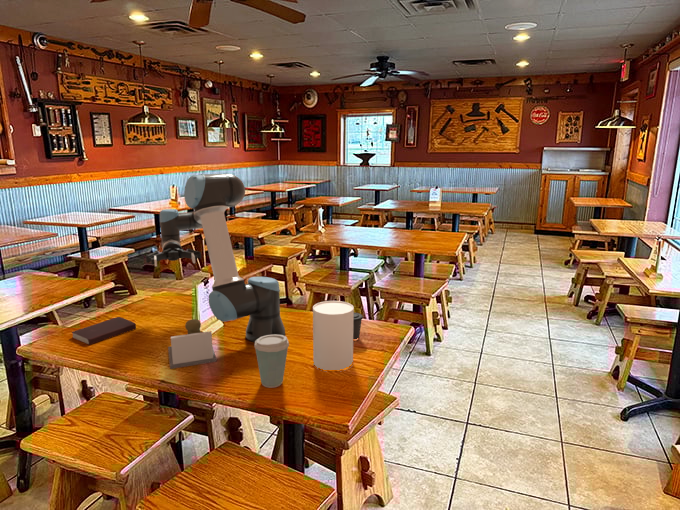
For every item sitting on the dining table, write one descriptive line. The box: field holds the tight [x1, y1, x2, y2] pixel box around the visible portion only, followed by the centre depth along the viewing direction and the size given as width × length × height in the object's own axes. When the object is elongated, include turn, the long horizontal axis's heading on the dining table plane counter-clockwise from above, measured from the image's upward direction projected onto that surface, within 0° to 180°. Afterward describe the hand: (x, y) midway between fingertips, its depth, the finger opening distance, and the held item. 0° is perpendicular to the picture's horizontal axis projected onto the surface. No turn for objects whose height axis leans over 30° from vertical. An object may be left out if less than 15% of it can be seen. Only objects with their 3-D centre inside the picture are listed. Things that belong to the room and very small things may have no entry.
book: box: [71, 316, 137, 346], centre depth 182 cm, size 12×19×3 cm, turn 146°
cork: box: [184, 318, 202, 334], centre depth 164 cm, size 6×6×11 cm
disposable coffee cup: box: [254, 334, 290, 389], centre depth 143 cm, size 11×11×15 cm
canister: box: [312, 300, 355, 370], centre depth 156 cm, size 14×14×20 cm
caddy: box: [167, 330, 217, 370], centre depth 162 cm, size 16×15×10 cm
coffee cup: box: [353, 312, 364, 339], centre depth 177 cm, size 8×8×10 cm
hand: (175, 261), depth 173 cm, fingers open, 13 cm apart
